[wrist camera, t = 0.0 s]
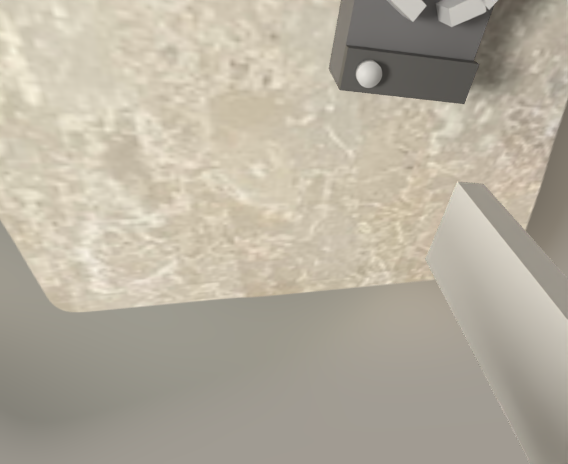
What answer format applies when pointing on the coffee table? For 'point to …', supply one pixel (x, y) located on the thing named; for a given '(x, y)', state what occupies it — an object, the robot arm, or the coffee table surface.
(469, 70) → the camera body
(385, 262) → the coffee table surface
